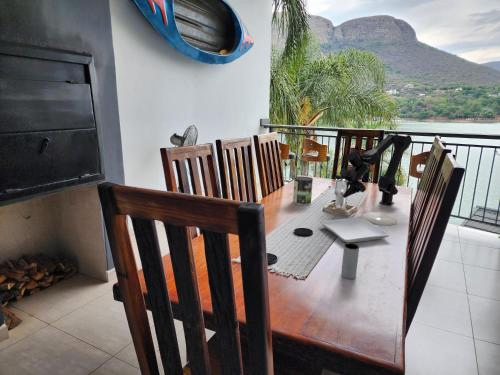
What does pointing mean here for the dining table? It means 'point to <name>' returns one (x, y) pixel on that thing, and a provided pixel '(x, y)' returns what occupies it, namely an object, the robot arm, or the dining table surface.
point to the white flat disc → (379, 218)
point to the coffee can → (302, 190)
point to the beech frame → (344, 213)
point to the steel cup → (341, 193)
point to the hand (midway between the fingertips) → (339, 195)
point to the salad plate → (354, 229)
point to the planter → (350, 260)
